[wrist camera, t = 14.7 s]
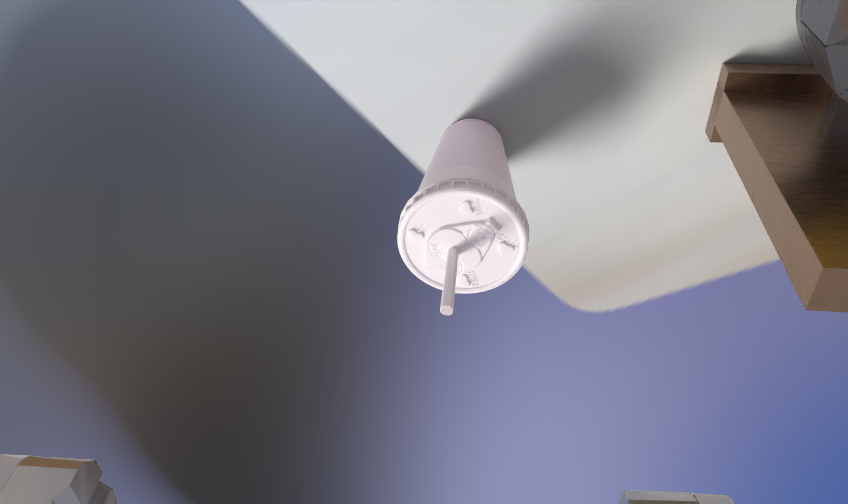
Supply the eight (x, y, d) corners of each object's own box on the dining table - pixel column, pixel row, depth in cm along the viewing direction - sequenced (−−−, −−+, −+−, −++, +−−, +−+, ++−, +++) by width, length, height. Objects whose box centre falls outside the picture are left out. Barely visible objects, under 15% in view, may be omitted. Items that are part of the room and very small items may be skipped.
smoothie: (395, 139, 41) (352, 293, 30) (479, 73, 38) (465, 218, 27) (465, 210, 44) (449, 376, 33) (548, 153, 41) (562, 315, 30)
